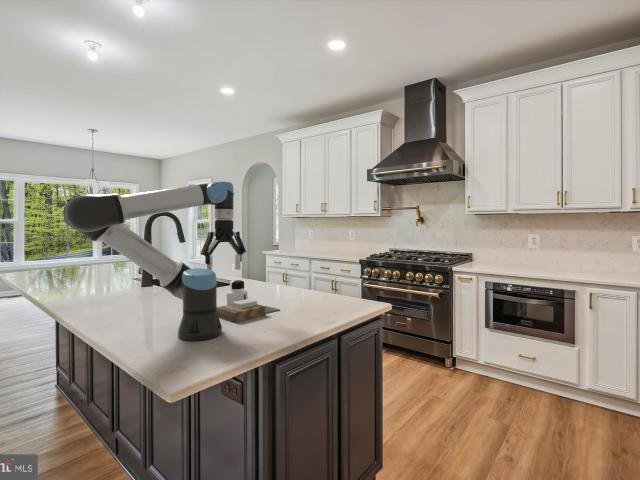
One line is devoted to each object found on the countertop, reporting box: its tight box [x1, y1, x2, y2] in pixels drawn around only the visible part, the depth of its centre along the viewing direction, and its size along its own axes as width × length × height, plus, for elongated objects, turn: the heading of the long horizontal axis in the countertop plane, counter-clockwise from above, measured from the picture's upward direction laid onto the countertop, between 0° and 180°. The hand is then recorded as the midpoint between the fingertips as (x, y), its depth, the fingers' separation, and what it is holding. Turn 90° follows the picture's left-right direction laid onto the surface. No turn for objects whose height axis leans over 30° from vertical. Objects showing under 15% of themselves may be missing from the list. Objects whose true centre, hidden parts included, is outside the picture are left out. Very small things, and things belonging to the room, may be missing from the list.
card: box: [232, 298, 258, 309], centre depth 158 cm, size 9×6×2 cm, turn 137°
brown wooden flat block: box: [217, 303, 266, 324], centre depth 157 cm, size 16×14×4 cm
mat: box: [264, 305, 281, 314], centre depth 166 cm, size 10×10×1 cm
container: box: [226, 279, 249, 305], centre depth 171 cm, size 8×8×13 cm
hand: (224, 271), depth 150 cm, fingers open, 13 cm apart
